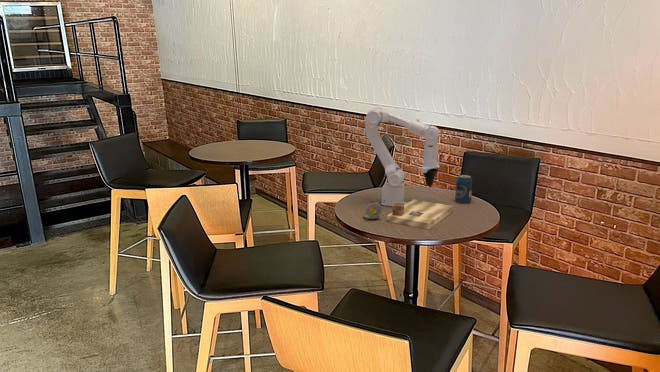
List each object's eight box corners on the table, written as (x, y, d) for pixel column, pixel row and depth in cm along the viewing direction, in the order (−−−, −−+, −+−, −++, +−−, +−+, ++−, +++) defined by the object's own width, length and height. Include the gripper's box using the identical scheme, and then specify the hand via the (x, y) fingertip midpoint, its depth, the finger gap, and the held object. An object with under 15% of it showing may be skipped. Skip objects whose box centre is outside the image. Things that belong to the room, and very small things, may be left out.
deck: (386, 221, 203) (387, 215, 203) (413, 204, 224) (413, 199, 223) (428, 229, 194) (428, 223, 193) (452, 211, 215) (452, 205, 214)
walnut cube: (392, 215, 203) (392, 205, 202) (394, 212, 207) (394, 202, 206) (402, 216, 202) (402, 206, 201) (403, 212, 205) (404, 203, 204)
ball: (412, 215, 207) (410, 222, 205) (410, 210, 205) (409, 216, 202) (420, 215, 205) (419, 222, 203) (419, 209, 203) (417, 216, 201)
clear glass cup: (370, 213, 213) (370, 191, 210) (385, 218, 207) (386, 195, 204) (357, 218, 207) (357, 195, 204) (372, 223, 201) (373, 199, 199)
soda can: (452, 202, 228) (453, 176, 224) (459, 198, 233) (461, 173, 229) (466, 205, 223) (468, 178, 220) (473, 201, 228) (475, 175, 225)
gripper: (433, 159, 206) (431, 190, 210) (446, 152, 218) (444, 183, 221) (417, 157, 210) (415, 188, 214) (430, 151, 222) (429, 180, 225)
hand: (429, 185), depth 218 cm, fingers closed
